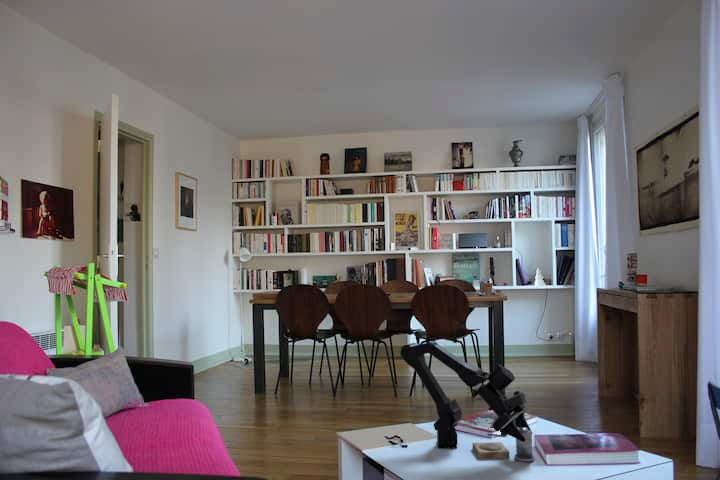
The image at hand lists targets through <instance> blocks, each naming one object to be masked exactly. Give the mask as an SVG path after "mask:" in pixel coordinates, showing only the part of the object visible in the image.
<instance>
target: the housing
mask: <svg viewBox="0 0 720 480" xmlns="http://www.w3.org/2000/svg"><path fill="white" fill-rule="evenodd" d="M518 429H519V430H520V432H521V433H522V435H523V436H524V438H525V439H526V440H525V441H524V442H522V441H520V440H518V439H516V438H515V449H516V450H515V451H516V452H515V453H516V454H514V460H515V461H516V462H519V463H525V464H528V463H530V464H531V463H534V462H535V456H534V455H533V436H532V435H533V431H532V430H531V431H530V430H528V428H526V427H520V428H518ZM533 461H534V462H533Z"/></svg>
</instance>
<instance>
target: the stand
mask: <svg viewBox="0 0 720 480" xmlns="http://www.w3.org/2000/svg"><path fill="white" fill-rule="evenodd" d="M472 450H473V452H474V454H476V456H477V458H478V459H480V460H481V459H484V460H485V459H510V451H509V450H508V449H507V447H506V446H505V445H504V443H502V442H500V441H499V442H497V441H496V442H495V441H494V442H472Z"/></svg>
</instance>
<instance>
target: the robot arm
mask: <svg viewBox="0 0 720 480" xmlns="http://www.w3.org/2000/svg"><path fill="white" fill-rule="evenodd" d="M400 348H401V349H400V352H399V354H400V356H401V358H402V359H403V361H404V362H405V363H406V364H407V365H408V366H409V367H410V368H411V369H413V370H414V371H415V372H416V374H417V376H418V377H419V380H420V381H421V382H422V384H423V386H424V387H425V389H426V390H427V393H428V394H429V396H430V397H431V399H432V400H433V402H434V404H435V407H436V414H437V415H438V419H437V420H436V421H435V422H434V423H433V428H434V430H435V431H436V441H435V444H436V447H438V449H440V450H441V449H458V444H459V443H458V432H457V431H456V428H455V427H457V425H458V423H459V422H460V421H461V420H462V417H463V413H462V407H460V405H459V404H458V402H457V400H456V399H455V398H454V399H450V398H449V397H447V395H446V394H445V391H444V390H443V388H442V387H441V385H440V383H439V382H438V380H437V379H436V378H435V376H434V374H433V372H432V371H431V369H430V368H429V366H428V364H427V363H426V362H427V361H426V356H425V355H426V354H430V355H431V356H433V357H434V358H436V360H437V361H440V363H442V364H444V365H445V366H446V367H448V368H449V369H450V370H452V371H454V372H455V373H456V375H457V376H458V378H459V379H460V380H461V381H462V382H463V383H464V385H466V386H467V387H469V388H473V389H472V398H473V399H475V398H477V397H480V398H481V399H482V400H483V402H484V403H485V404H486V405H487V406H488V410H489V412H493V413H494V414H495V415H496V416H497V418H496V419H495V420H496V421H495V422H493V421H492V422H493V428H494V429H495V430H496V431H499V430H500V429H501V428H503V429H502V430H501V431H500V432H503V433H505V434H507V435H508V436H510V437H512V438H514V439H515V440H516V439H518V440H520V441H522V442H524V441H525V440H526V439H525V438H524V436H523V435H522V433H521V432H520V430H519V428H520V427H526V428H528V430H530V431H532V429H531V427H530V426H529V424H528V421H527V420H526V418H525V413H526V410H525V409H526V406H525V405H524V404H525V403H527V399H526V394H524V392H521V390H516V391H514V392H513V395H512V396H509V397H508V396H507V395H505V394H504V395H502V394H501V393H500V392H499V391H502V392H503V391H504V390H506V389H507V388H508V387H509V386H510V385H512V383H513V382H514V381H515V380H516V377H515V375H514V373H512V371H511V370H509V369H507V368H506V367H504V366H503V365H502V364H498V365H497V366H496V367H495V368H494V370H493V371H491V372H487V371H484V370H483V369H482V368H480V367H478V366H476V365H473V364H471V363H468V362H465V361H463V360H462V359H460V358H458V357H457V356H456V355H454V354H453V353H452V352H450V351H449V350H447V349H446V348H444V347H443V346H442V345H440V344H439V343H438V342H437V341H435V340H432V341H431V340H430V341H428V342H425V343H420V344H419V343H417V342H413V343H412V342H411V343H408V344H405V345H403V346H402V347H400ZM487 381H488V382H487ZM485 382H487V383H486V384H485ZM479 385H480V386H479ZM477 386H478V388H475V387H477Z"/></svg>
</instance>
